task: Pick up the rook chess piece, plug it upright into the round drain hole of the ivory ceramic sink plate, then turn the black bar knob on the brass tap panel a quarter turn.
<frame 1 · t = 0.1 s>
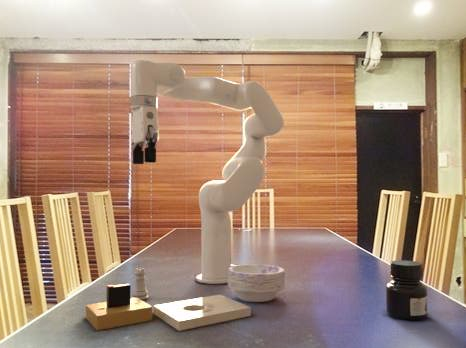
hand: (144, 163, 124), 37 cm above the table, tool pointing down, fingers open, 9 cm apart
paper bowls: (256, 298, 114), on the table
rook chess piece: (139, 299, 114), on the table
sink plate: (201, 315, 100), on the table
ink bottle: (406, 316, 99), on the table
tap knob: (118, 295, 97), point 5 cm above the table, hinge at 0.0°
tap panel: (118, 319, 97), on the table
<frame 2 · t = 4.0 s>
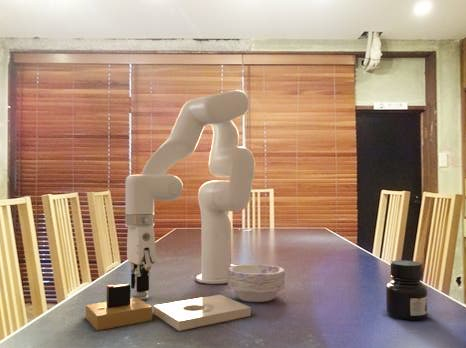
hand: (139, 288, 114), 3 cm above the table, tool pointing down, fingers closed on rook chess piece, 3 cm apart
rook chess piece: (139, 299, 114), on the table, touching gripper
everything else where it was.
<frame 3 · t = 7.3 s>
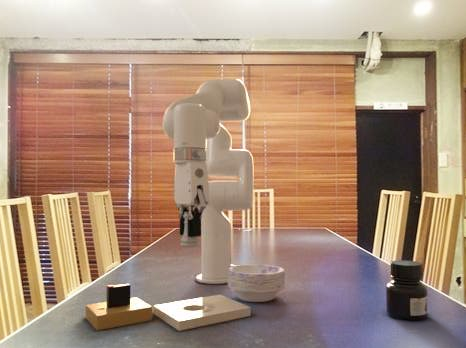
hand: (190, 234, 100), 19 cm above the table, tool pointing down, fingers closed on rook chess piece, 3 cm apart
rook chess piece: (190, 247, 100), point 16 cm above the table, touching gripper
everything else where it was.
when the fingers open (3 cm above the table, at t = 11.0 s): rook chess piece stays where it is, resting in sink plate.
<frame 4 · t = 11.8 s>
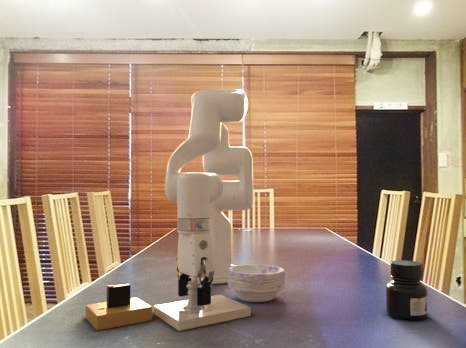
hand: (194, 300, 99), 4 cm above the table, tool pointing down, fingers open, 9 cm apart
rook chess piece: (193, 317, 99), resting in sink plate
everything else where it was.
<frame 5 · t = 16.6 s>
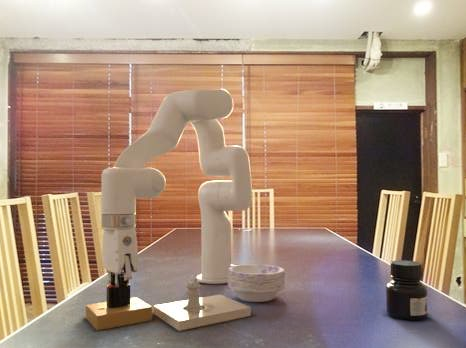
hand: (118, 302, 97), 4 cm above the table, tool pointing down, fingers closed, pressing on tap knob
tap knob: (118, 295, 97), point 5 cm above the table, hinge at 4.8°, touching gripper
everything else where it was.
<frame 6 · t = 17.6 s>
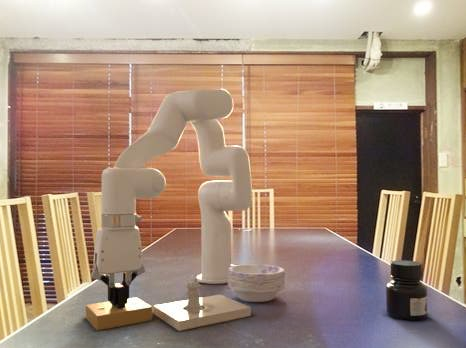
hand: (118, 302, 97), 4 cm above the table, tool pointing down, fingers closed, pressing on tap knob
tap knob: (118, 295, 97), point 5 cm above the table, hinge at 89.3°, touching gripper
everything else where it was.
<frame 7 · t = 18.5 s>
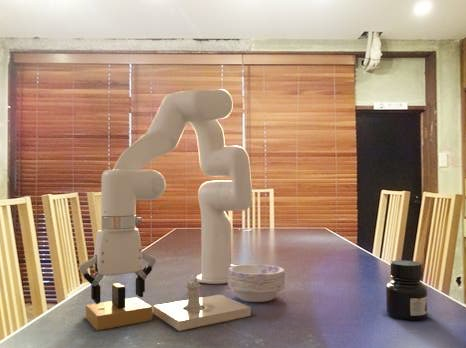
hand: (118, 299, 97), 5 cm above the table, tool pointing down, fingers open, 9 cm apart
tap knob: (118, 295, 97), point 5 cm above the table, hinge at 89.2°
everything else where it was.
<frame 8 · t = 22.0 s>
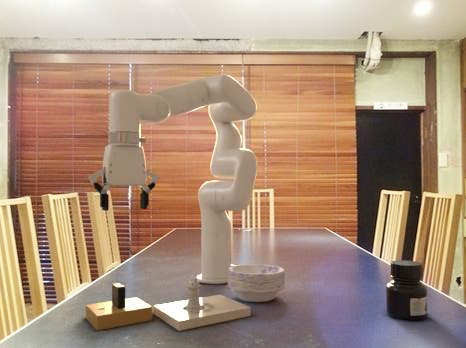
hand: (124, 209, 106), 24 cm above the table, tool pointing down, fingers open, 9 cm apart
nothing on the table moved.
at the end: rook chess piece 0.1 cm from the target spot in the sink plate, point 0.0 cm above the sink plate's base; rook chess piece tilted 0°; tap knob at +89° (first picture: +0°) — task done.
